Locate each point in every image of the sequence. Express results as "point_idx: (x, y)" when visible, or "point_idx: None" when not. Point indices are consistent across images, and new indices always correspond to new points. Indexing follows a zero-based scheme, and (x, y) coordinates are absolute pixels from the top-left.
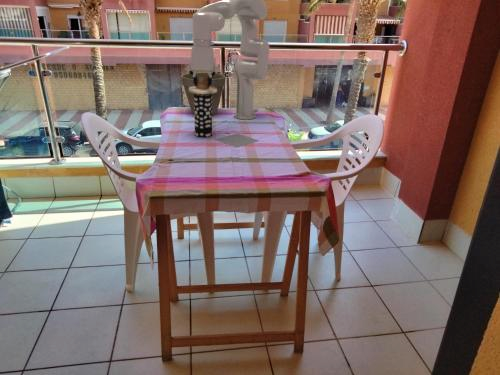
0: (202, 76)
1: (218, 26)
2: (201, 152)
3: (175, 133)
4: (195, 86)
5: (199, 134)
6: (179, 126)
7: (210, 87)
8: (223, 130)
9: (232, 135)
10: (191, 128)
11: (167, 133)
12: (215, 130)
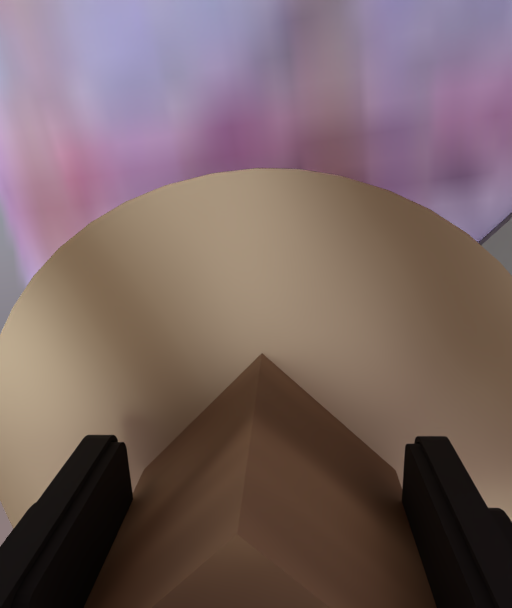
0: (216, 584)
1: None
2: None
3: (74, 227)
4: (71, 288)
5: None
6: (45, 27)
7: (424, 340)
8: (427, 90)
9: (497, 253)
10: (156, 73)
11: (21, 234)
12: (359, 101)
